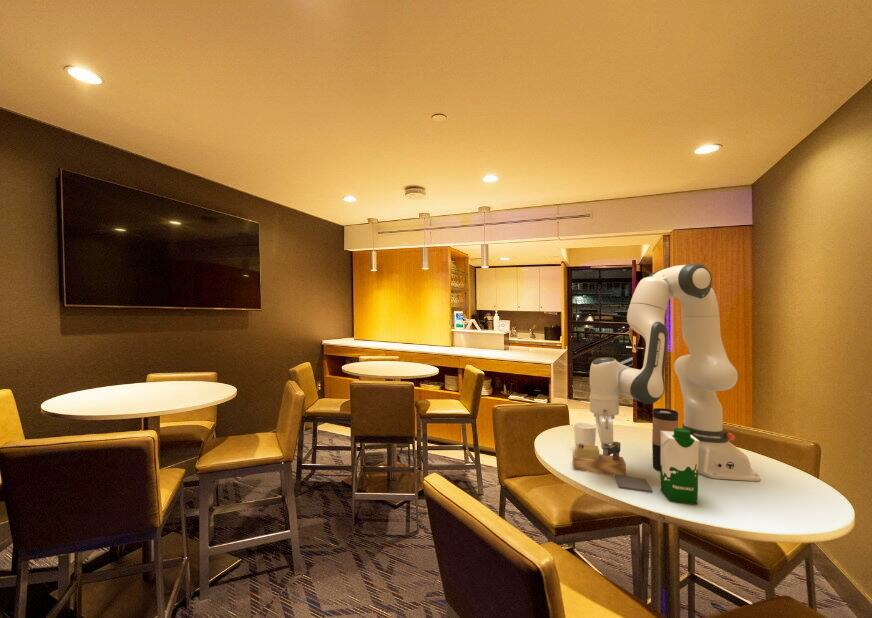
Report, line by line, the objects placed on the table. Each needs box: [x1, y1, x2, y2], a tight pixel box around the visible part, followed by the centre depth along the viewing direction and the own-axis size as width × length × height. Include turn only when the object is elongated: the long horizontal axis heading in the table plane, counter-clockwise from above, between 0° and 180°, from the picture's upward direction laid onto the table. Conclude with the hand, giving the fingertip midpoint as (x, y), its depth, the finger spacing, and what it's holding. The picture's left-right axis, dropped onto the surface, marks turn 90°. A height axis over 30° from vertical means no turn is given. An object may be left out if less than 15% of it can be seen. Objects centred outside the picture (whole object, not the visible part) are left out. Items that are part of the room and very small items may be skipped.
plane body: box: [572, 450, 627, 476], centre depth 129 cm, size 16×7×7 cm, turn 73°
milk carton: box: [659, 427, 699, 506], centre depth 110 cm, size 9×9×20 cm
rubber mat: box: [614, 475, 654, 494], centre depth 118 cm, size 9×9×1 cm
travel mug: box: [651, 407, 679, 472], centre depth 131 cm, size 8×8×20 cm
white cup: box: [573, 422, 597, 451], centre depth 147 cm, size 8×8×10 cm
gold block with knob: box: [575, 443, 600, 460], centre depth 131 cm, size 7×5×4 cm
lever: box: [602, 440, 622, 456], centre depth 125 cm, size 10×3×4 cm, turn 133°
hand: (604, 448), depth 126 cm, fingers closed, pressing on lever
